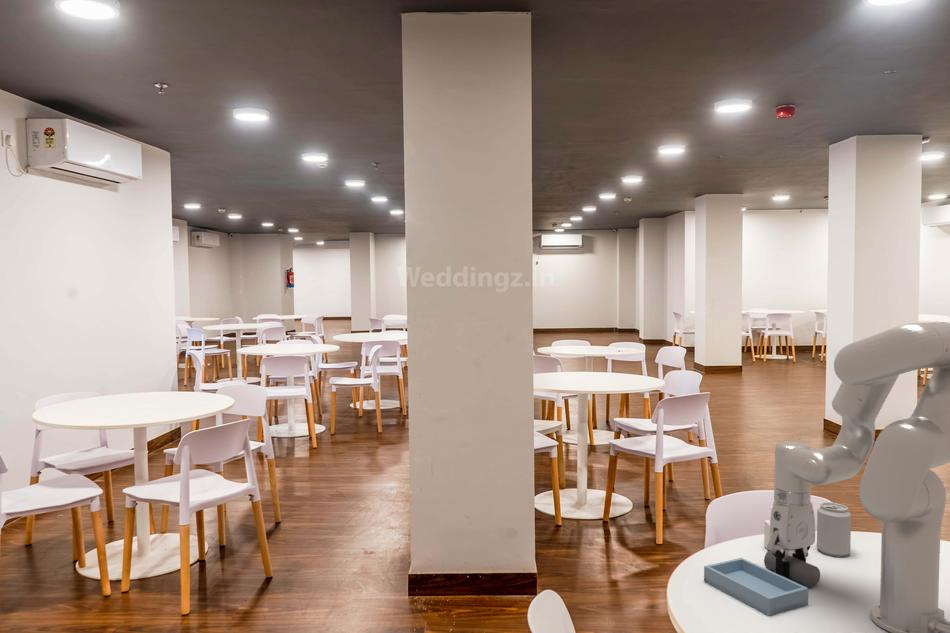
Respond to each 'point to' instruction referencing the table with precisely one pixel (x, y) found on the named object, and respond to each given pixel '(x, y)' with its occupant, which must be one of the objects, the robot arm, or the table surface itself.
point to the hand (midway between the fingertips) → (790, 573)
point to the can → (833, 529)
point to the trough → (756, 586)
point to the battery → (796, 570)
